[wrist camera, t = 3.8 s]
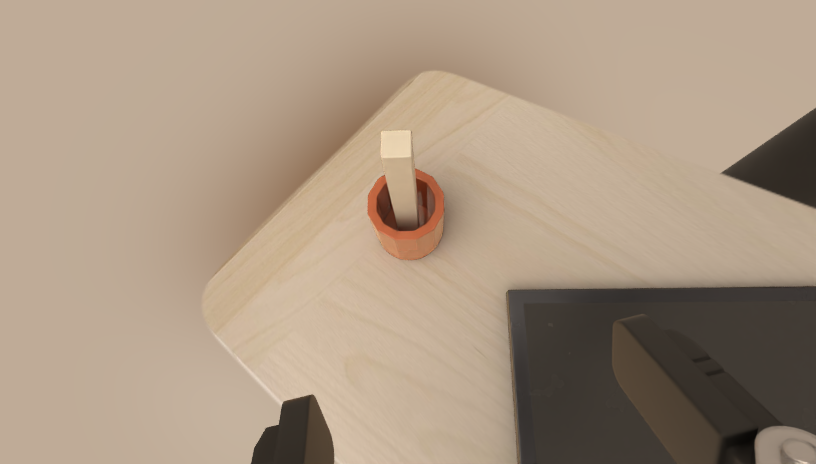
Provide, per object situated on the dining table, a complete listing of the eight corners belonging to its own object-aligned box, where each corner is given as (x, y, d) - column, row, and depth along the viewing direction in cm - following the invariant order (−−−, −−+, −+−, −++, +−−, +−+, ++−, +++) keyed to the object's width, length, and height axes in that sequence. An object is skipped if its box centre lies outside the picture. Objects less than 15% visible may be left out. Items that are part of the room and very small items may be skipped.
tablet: (820, 288, 31) (833, 285, 30) (895, 553, 27) (913, 561, 26) (505, 292, 33) (508, 289, 31) (523, 547, 28) (526, 554, 27)
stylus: (419, 217, 34) (411, 129, 22) (419, 235, 34) (411, 156, 21) (399, 217, 34) (380, 130, 22) (399, 236, 34) (380, 157, 21)
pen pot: (441, 197, 35) (443, 167, 30) (443, 259, 34) (445, 239, 28) (378, 199, 35) (368, 169, 30) (376, 260, 34) (366, 240, 29)
